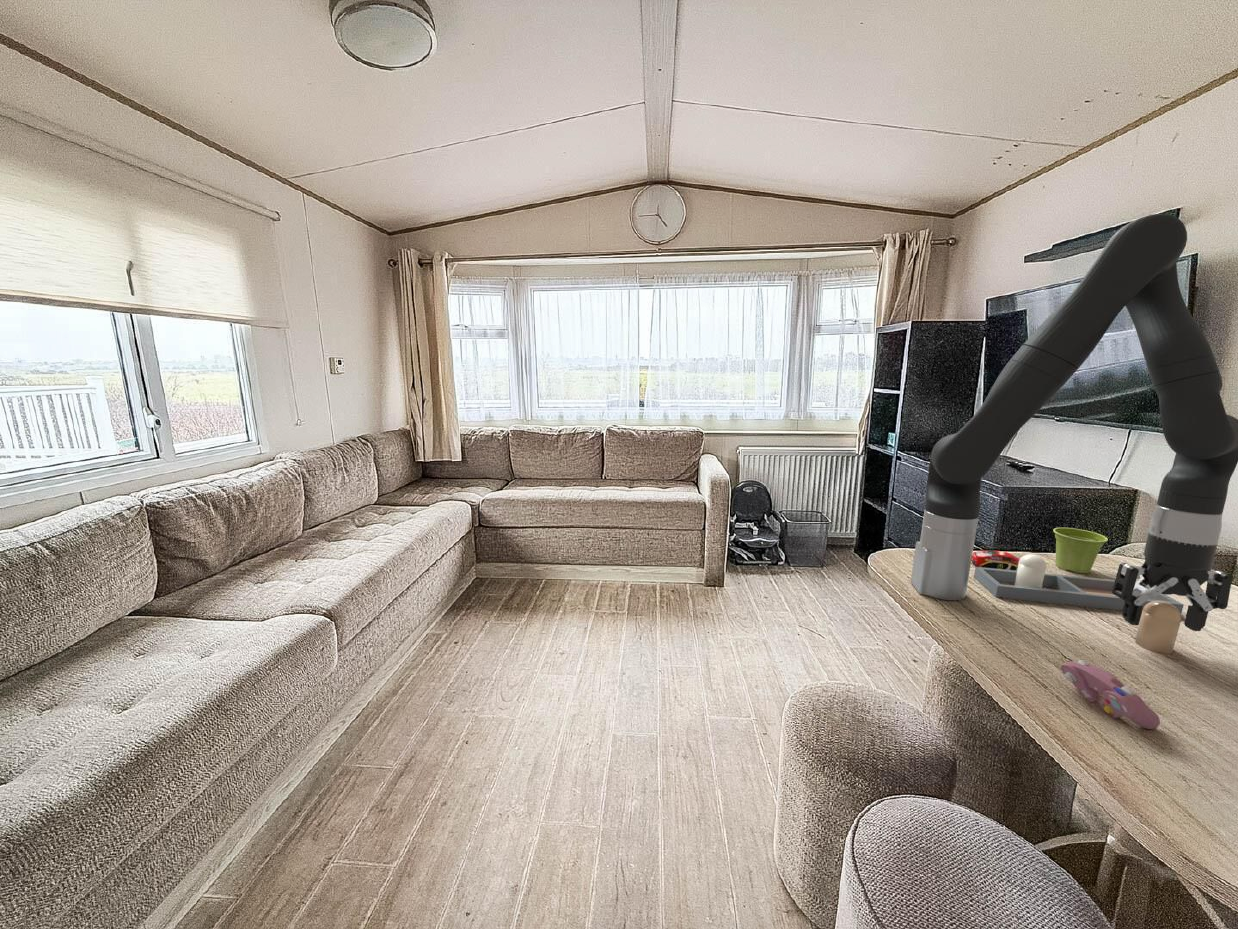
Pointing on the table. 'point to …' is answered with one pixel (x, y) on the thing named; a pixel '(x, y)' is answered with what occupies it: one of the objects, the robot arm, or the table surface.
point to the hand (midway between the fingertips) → (1161, 626)
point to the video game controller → (1109, 693)
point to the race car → (995, 560)
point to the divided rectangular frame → (1060, 590)
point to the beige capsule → (1158, 627)
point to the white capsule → (1030, 571)
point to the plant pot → (1077, 549)
